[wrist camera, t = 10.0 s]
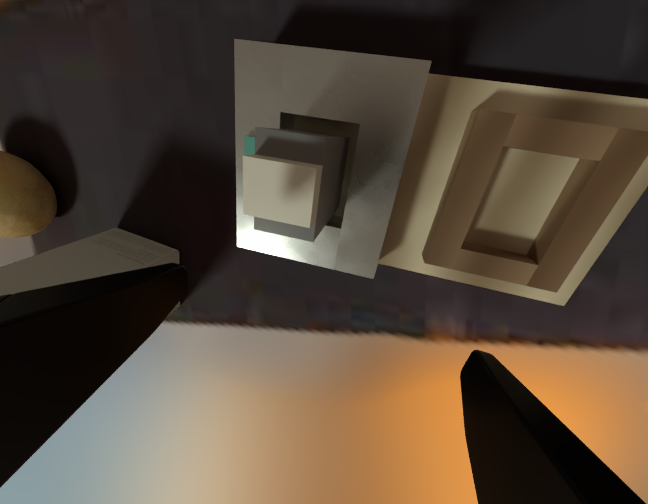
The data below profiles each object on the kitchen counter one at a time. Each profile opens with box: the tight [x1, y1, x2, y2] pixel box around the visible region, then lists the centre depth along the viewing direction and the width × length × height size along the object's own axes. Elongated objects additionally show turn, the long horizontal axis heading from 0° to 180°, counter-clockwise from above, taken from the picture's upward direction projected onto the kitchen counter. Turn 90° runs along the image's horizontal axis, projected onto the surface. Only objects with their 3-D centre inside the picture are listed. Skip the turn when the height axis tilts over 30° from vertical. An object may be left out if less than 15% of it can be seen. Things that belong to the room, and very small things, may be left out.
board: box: [294, 73, 648, 306], centre depth 17 cm, size 24×12×1 cm, turn 81°
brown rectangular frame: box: [422, 109, 648, 293], centre depth 15 cm, size 8×9×2 cm
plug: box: [243, 127, 350, 242], centre depth 14 cm, size 3×4×8 cm, turn 172°
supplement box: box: [0, 228, 180, 314], centre depth 21 cm, size 7×7×13 cm
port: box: [234, 39, 432, 279], centre depth 16 cm, size 10×12×3 cm
